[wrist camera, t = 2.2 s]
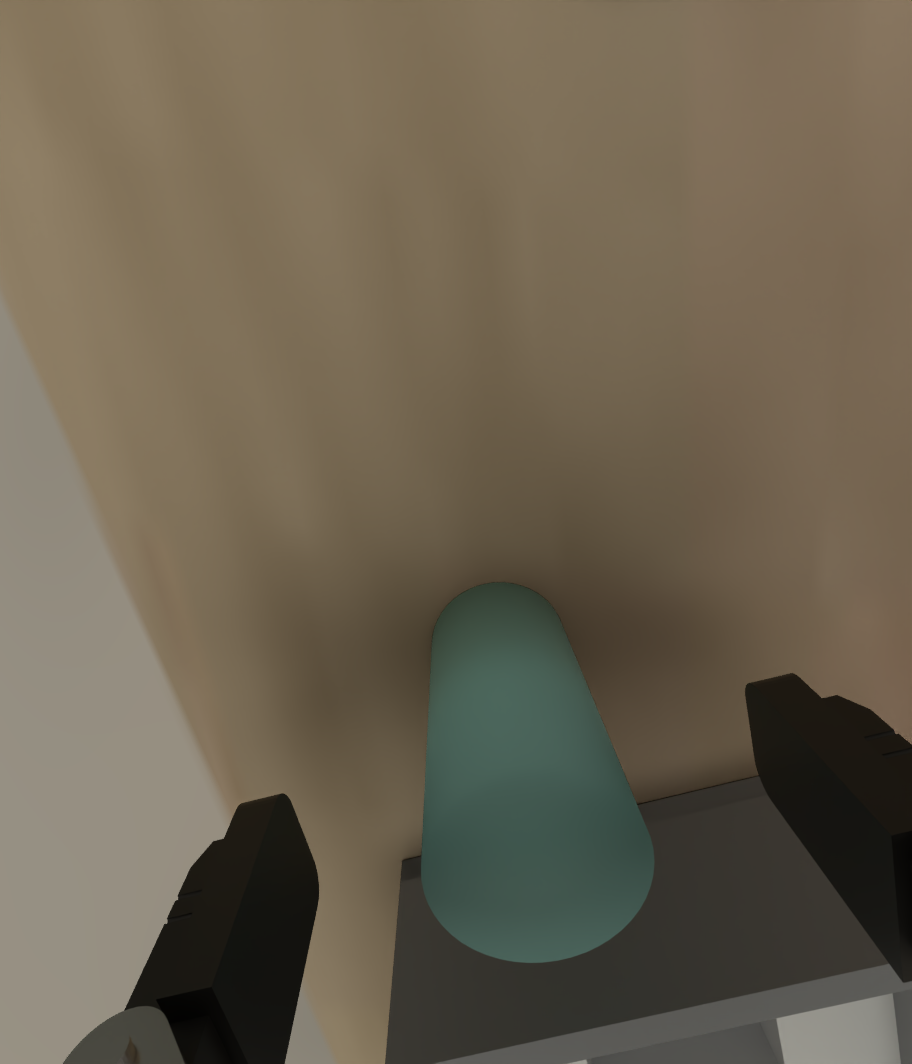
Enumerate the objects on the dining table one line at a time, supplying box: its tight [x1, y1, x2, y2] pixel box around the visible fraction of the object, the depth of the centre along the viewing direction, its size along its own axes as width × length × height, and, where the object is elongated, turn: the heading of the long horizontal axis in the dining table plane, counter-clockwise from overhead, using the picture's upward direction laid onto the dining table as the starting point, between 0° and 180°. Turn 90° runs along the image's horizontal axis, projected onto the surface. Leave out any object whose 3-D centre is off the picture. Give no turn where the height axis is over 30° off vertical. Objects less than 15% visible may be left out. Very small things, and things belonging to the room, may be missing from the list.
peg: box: [421, 582, 655, 963], centre depth 14 cm, size 4×4×8 cm
